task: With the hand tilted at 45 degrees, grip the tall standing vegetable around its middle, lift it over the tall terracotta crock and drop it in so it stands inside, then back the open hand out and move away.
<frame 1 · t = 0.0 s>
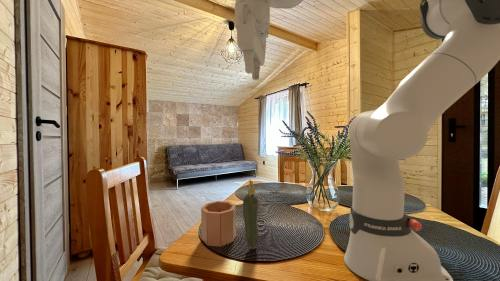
hand: (252, 76, 60), 48 cm above the table, tool pointing down, fingers open, 8 cm apart
vegetable: (251, 250, 66), on the table
crock: (219, 237, 73), on the table
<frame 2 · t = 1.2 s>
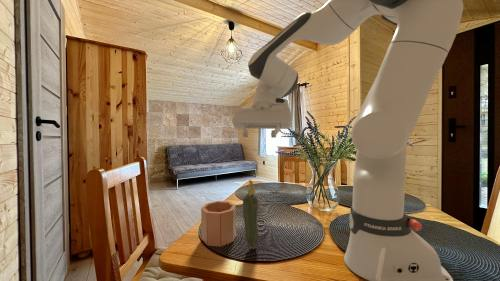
hand: (259, 136, 75), 32 cm above the table, tool tilted 45°, fingers open, 8 cm apart
nothing on the table moved.
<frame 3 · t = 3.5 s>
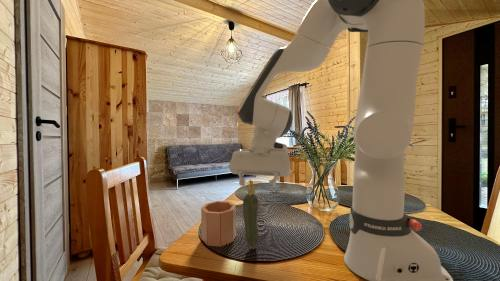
hand: (256, 185, 72), 16 cm above the table, tool tilted 45°, fingers open, 8 cm apart
nothing on the table moved.
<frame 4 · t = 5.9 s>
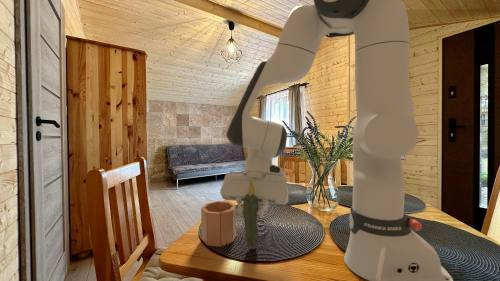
hand: (250, 215, 65), 10 cm above the table, tool tilted 45°, fingers closed on vegetable, 4 cm apart
vegetable: (250, 250, 66), on the table, touching gripper
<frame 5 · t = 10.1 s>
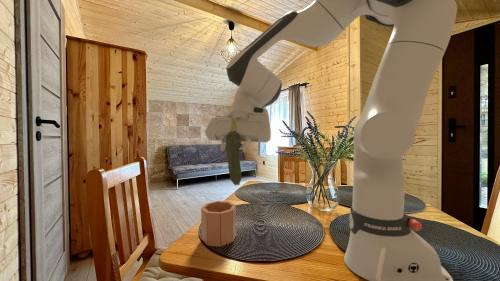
hand: (232, 150, 66), 28 cm above the table, tool tilted 45°, fingers closed on vegetable, 4 cm apart
vegetable: (234, 186, 68), point 17 cm above the table, touching gripper
when the fingers open (15 cm above the table, at t = 14.1 s): vegetable drops 3 cm, resting on crock.
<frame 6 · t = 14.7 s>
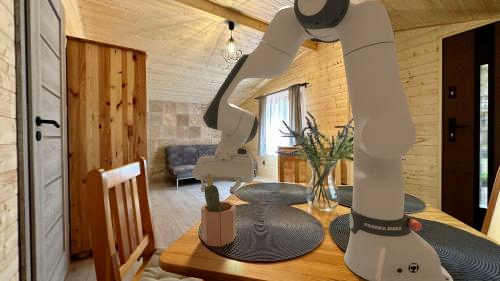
hand: (217, 192, 71), 15 cm above the table, tool tilted 45°, fingers open, 8 cm apart
vegetable: (220, 234, 73), point 1 cm above the table, touching crock, gripper
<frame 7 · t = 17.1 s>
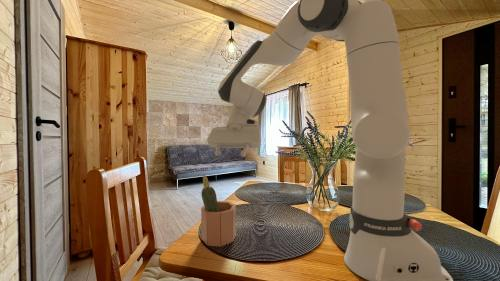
hand: (229, 155, 82), 24 cm above the table, tool tilted 45°, fingers open, 8 cm apart
vegetable: (220, 234, 73), point 1 cm above the table, touching crock
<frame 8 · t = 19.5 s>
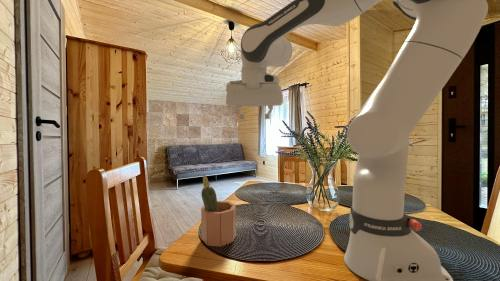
hand: (254, 119, 83), 37 cm above the table, tool pointing down, fingers open, 8 cm apart
nothing on the table moved.
at the end: vegetable 0.4 cm off-centre on the crock, point 0.9 cm above the crock's base; the gripper is holding nothing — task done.
